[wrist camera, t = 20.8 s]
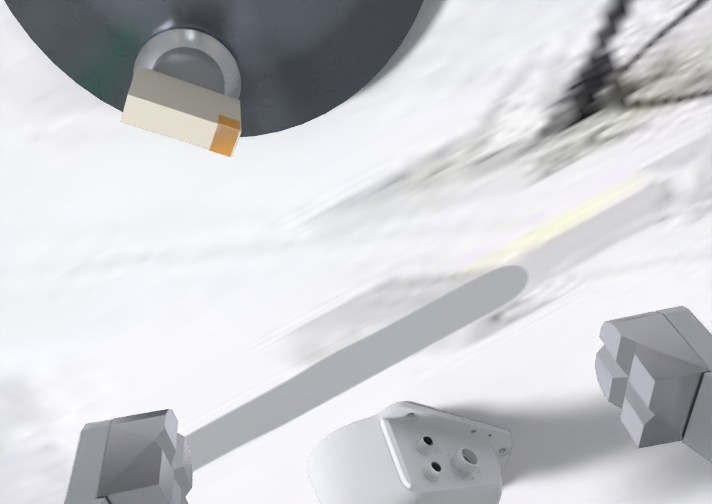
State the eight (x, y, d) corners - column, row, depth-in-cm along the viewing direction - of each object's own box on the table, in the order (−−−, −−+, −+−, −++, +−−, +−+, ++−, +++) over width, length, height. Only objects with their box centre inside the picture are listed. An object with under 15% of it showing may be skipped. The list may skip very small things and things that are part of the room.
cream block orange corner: (129, 98, 39) (114, 144, 34) (147, 30, 37) (134, 69, 32) (224, 129, 41) (224, 177, 36) (246, 67, 39) (249, 109, 34)
